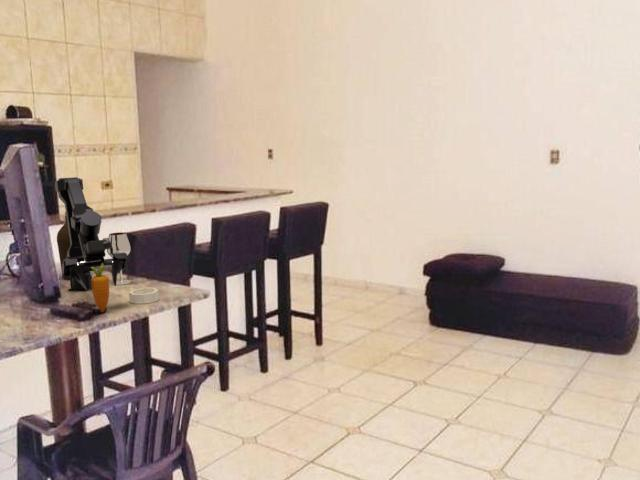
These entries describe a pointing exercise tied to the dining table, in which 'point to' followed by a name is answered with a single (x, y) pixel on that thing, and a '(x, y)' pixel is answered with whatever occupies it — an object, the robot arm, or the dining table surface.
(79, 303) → the dining table surface
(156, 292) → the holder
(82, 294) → the dining table surface
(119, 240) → the wineglass
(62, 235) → the olive oil
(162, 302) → the dining table surface
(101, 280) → the carrot
